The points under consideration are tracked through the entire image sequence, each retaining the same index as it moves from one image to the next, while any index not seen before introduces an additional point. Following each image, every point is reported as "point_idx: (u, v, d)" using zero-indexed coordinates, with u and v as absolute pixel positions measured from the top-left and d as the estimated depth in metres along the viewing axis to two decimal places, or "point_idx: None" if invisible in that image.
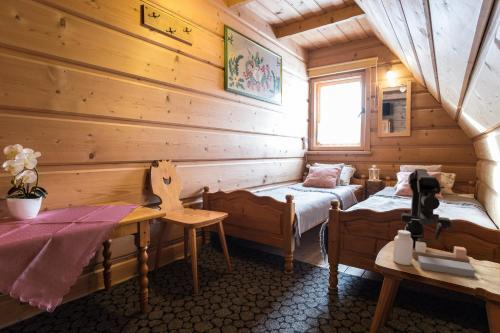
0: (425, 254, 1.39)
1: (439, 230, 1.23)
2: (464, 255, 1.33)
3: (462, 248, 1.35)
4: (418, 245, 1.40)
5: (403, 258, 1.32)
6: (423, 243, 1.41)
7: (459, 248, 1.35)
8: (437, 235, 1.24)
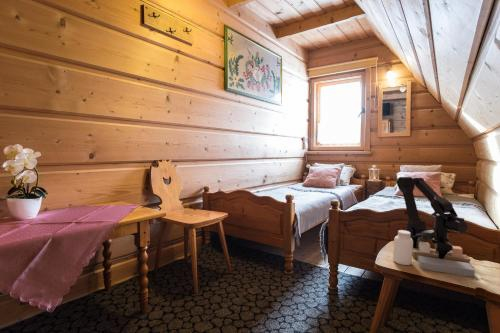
0: (425, 254, 1.39)
1: (438, 250, 1.35)
2: (460, 254, 1.33)
3: (458, 247, 1.35)
4: (422, 245, 1.39)
5: (403, 258, 1.32)
6: (427, 243, 1.40)
7: (455, 247, 1.35)
8: None
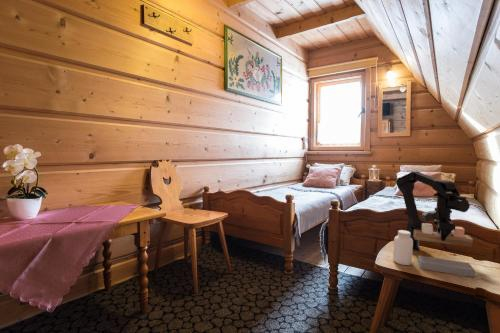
0: (427, 235, 1.36)
1: (440, 230, 1.33)
2: (462, 234, 1.31)
3: (460, 227, 1.33)
4: (425, 226, 1.37)
5: (403, 258, 1.32)
6: (430, 224, 1.38)
7: (457, 227, 1.33)
8: (441, 235, 1.34)
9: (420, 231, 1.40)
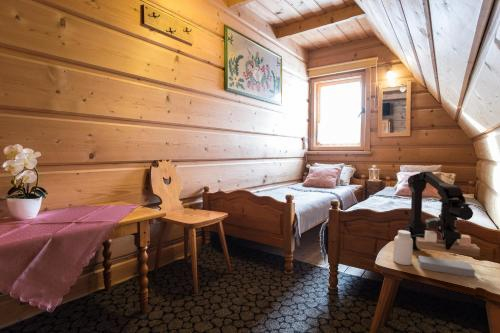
0: (431, 243, 1.28)
1: (444, 239, 1.25)
2: (468, 243, 1.23)
3: (466, 236, 1.25)
4: (428, 234, 1.28)
5: (403, 258, 1.32)
6: (433, 232, 1.29)
7: (463, 236, 1.24)
8: (445, 244, 1.25)
9: (423, 239, 1.32)
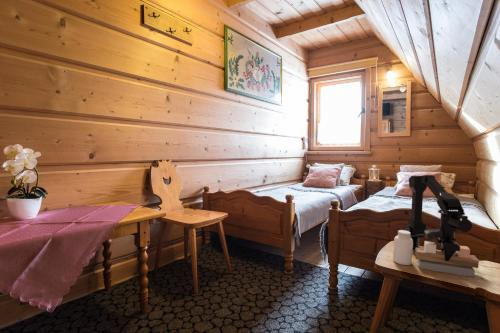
0: (430, 254, 1.28)
1: (443, 250, 1.25)
2: (467, 255, 1.23)
3: (465, 247, 1.25)
4: (427, 245, 1.29)
5: (403, 258, 1.32)
6: (433, 243, 1.30)
7: (462, 247, 1.25)
8: (444, 255, 1.26)
9: (422, 250, 1.32)
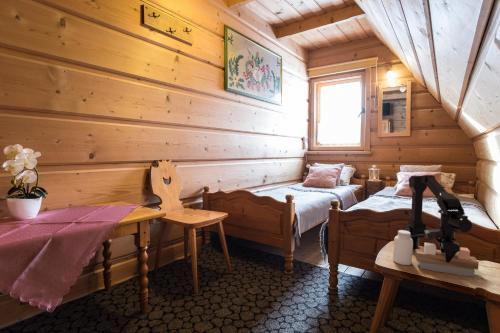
0: (430, 256, 1.28)
1: (444, 251, 1.23)
2: (467, 256, 1.23)
3: (465, 249, 1.25)
4: (427, 247, 1.29)
5: (403, 258, 1.32)
6: (432, 244, 1.30)
7: (462, 249, 1.25)
8: (445, 256, 1.24)
9: (422, 251, 1.32)
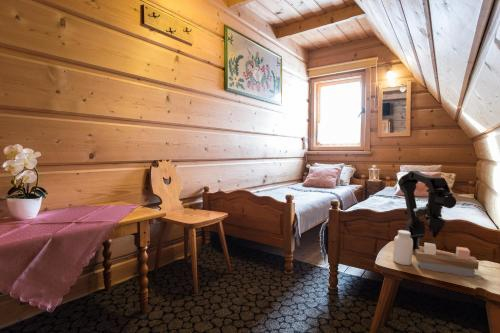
0: (430, 256, 1.28)
1: (431, 227, 1.33)
2: (467, 256, 1.23)
3: (465, 249, 1.25)
4: (427, 247, 1.29)
5: (403, 258, 1.32)
6: (432, 244, 1.30)
7: (462, 249, 1.25)
8: (432, 232, 1.33)
9: (422, 251, 1.32)
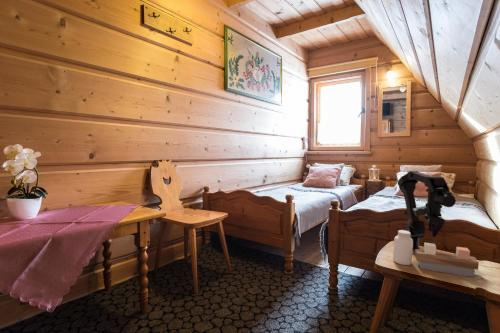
0: (430, 256, 1.28)
1: (431, 226, 1.33)
2: (467, 256, 1.23)
3: (465, 249, 1.25)
4: (427, 247, 1.29)
5: (403, 258, 1.32)
6: (432, 244, 1.30)
7: (462, 249, 1.25)
8: (432, 231, 1.33)
9: (422, 251, 1.32)
